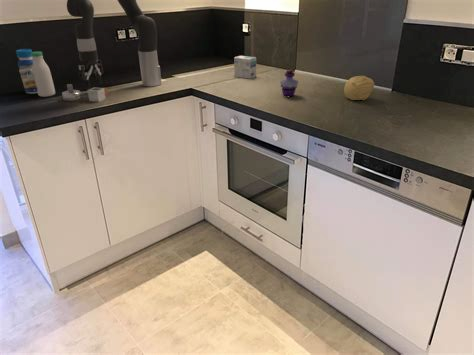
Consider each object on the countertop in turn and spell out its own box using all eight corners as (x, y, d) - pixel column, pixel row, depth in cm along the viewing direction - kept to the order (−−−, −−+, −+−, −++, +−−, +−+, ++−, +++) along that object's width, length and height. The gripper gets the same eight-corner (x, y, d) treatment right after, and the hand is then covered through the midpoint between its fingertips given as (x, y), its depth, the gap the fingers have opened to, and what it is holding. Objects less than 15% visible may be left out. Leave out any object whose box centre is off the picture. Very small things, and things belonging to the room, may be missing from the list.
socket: (96, 97, 179) (94, 87, 177) (105, 98, 178) (103, 88, 176) (89, 101, 175) (87, 90, 173) (99, 101, 174) (97, 91, 171)
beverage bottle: (47, 90, 191) (37, 49, 182) (33, 94, 185) (22, 52, 175) (35, 88, 194) (25, 47, 185) (21, 92, 188) (9, 50, 178)
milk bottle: (59, 93, 187) (49, 51, 177) (47, 97, 180) (36, 54, 171) (46, 91, 189) (36, 50, 179) (34, 96, 183) (23, 53, 173)
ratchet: (105, 91, 188) (103, 78, 185) (109, 95, 182) (106, 82, 179) (62, 97, 180) (59, 83, 177) (64, 102, 174) (61, 88, 171)
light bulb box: (256, 76, 213) (256, 56, 208) (250, 79, 208) (250, 59, 203) (240, 74, 218) (240, 55, 213) (234, 76, 213) (233, 57, 208)
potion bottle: (287, 92, 186) (288, 67, 180) (301, 95, 180) (303, 69, 175) (275, 95, 181) (276, 70, 175) (289, 99, 175) (291, 73, 169)
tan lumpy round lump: (356, 104, 168) (359, 80, 163) (338, 97, 177) (341, 74, 172) (375, 100, 173) (379, 77, 167) (356, 94, 182) (360, 71, 177)
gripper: (90, 45, 173) (96, 81, 181) (69, 51, 161) (76, 89, 169) (104, 46, 171) (109, 82, 179) (84, 52, 159) (90, 90, 167)
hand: (93, 85), depth 174 cm, fingers open, 8 cm apart
